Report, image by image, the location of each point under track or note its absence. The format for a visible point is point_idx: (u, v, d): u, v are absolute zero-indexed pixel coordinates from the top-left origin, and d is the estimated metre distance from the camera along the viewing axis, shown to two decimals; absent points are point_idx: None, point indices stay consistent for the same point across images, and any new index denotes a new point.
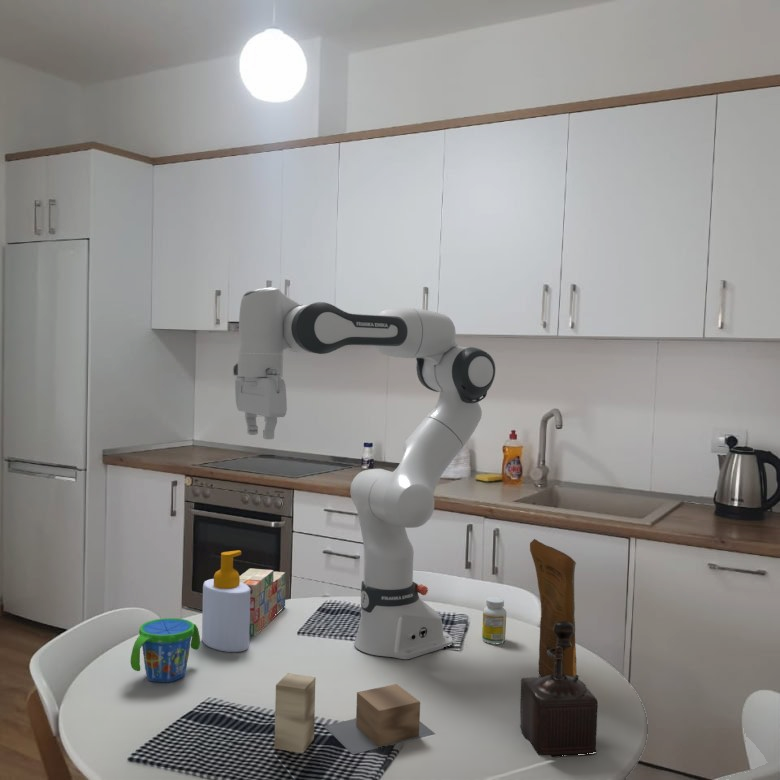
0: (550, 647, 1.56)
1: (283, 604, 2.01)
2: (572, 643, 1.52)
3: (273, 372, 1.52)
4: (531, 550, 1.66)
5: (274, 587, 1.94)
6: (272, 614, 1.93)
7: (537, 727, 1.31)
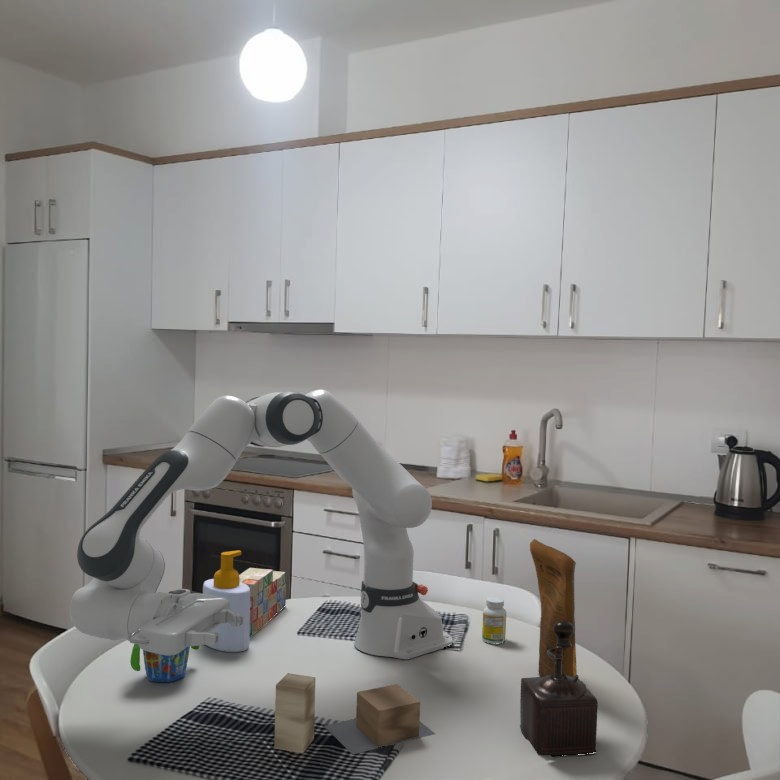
0: (550, 647, 1.56)
1: (283, 604, 2.01)
2: (572, 643, 1.52)
3: None
4: (531, 550, 1.66)
5: (274, 587, 1.94)
6: (271, 614, 1.93)
7: (537, 727, 1.31)
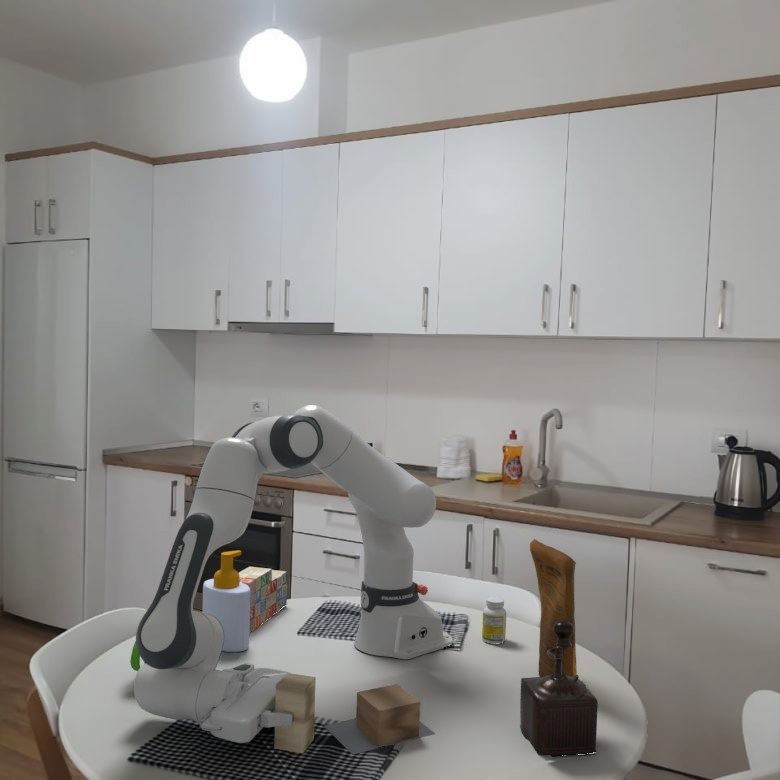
0: (550, 647, 1.56)
1: (284, 603, 2.02)
2: (572, 643, 1.52)
3: None
4: (531, 550, 1.66)
5: (273, 586, 1.95)
6: (270, 613, 1.94)
7: (537, 727, 1.31)
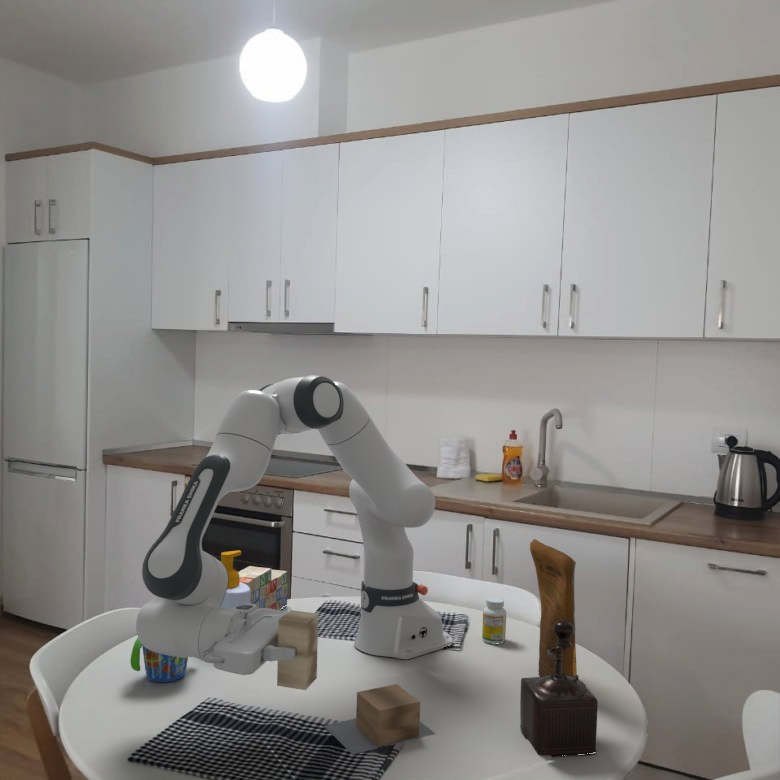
0: (550, 647, 1.56)
1: (284, 603, 2.02)
2: (572, 643, 1.52)
3: None
4: (531, 550, 1.66)
5: (272, 585, 1.95)
6: None
7: (537, 727, 1.31)
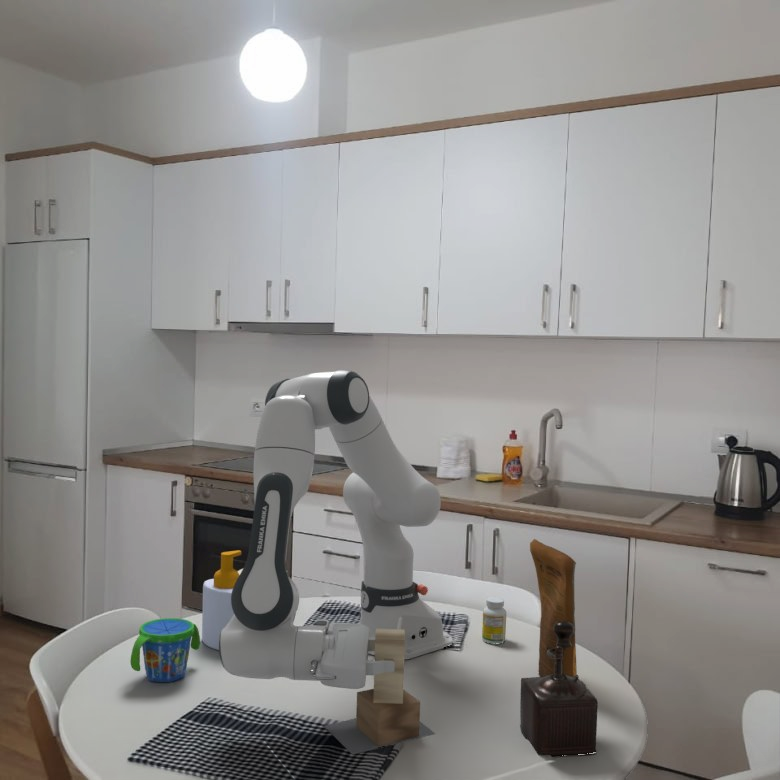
0: (550, 647, 1.56)
1: None
2: (572, 643, 1.52)
3: None
4: (531, 550, 1.66)
5: None
6: None
7: (537, 727, 1.31)
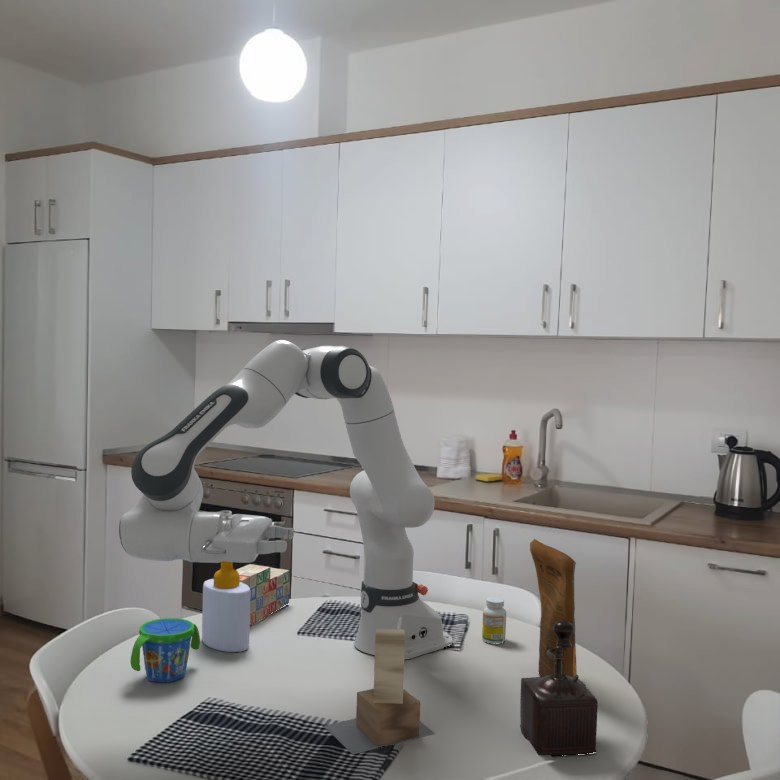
0: (550, 647, 1.56)
1: (286, 602, 2.03)
2: (572, 643, 1.52)
3: None
4: (531, 550, 1.66)
5: (272, 584, 1.96)
6: (269, 610, 1.96)
7: (537, 727, 1.31)
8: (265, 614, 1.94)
